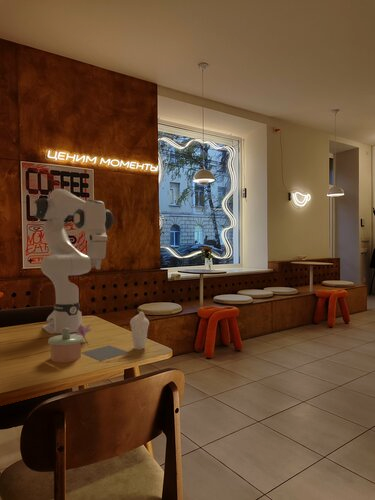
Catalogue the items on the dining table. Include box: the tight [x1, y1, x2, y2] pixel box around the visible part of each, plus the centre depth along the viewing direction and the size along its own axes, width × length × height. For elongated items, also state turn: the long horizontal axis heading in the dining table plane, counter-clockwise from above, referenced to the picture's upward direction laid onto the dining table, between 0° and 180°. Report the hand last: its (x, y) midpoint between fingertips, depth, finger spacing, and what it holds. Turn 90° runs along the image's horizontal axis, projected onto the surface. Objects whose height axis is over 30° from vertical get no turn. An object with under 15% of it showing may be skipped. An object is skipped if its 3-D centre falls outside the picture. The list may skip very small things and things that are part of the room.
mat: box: [81, 344, 130, 362], centre depth 146 cm, size 14×14×1 cm
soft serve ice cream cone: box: [129, 311, 150, 350], centre depth 153 cm, size 8×8×16 cm
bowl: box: [50, 342, 82, 364], centre depth 140 cm, size 11×11×7 cm
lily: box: [75, 323, 93, 345], centre depth 158 cm, size 12×12×10 cm
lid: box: [47, 328, 84, 346], centre depth 140 cm, size 13×13×5 cm
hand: (95, 268), depth 157 cm, fingers open, 8 cm apart
